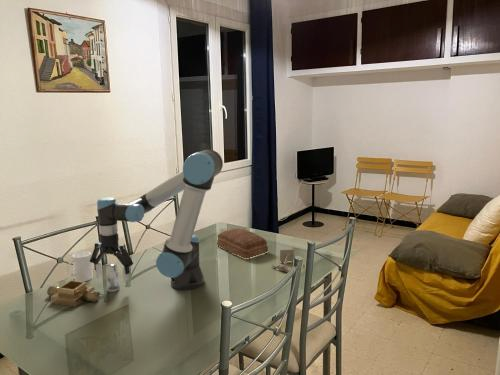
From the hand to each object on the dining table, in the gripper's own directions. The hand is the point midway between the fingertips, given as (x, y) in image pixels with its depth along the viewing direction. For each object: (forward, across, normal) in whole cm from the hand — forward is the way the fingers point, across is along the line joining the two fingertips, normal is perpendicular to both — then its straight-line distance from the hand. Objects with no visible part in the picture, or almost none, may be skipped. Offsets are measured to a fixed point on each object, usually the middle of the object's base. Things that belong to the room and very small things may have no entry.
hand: (112, 278), depth 170 cm
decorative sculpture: (+6, -68, -44) cm, 82 cm away
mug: (+6, +22, -6) cm, 23 cm away
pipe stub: (+5, 0, 0) cm, 5 cm away
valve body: (+5, +12, +11) cm, 17 cm away
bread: (+6, -42, -62) cm, 75 cm away
